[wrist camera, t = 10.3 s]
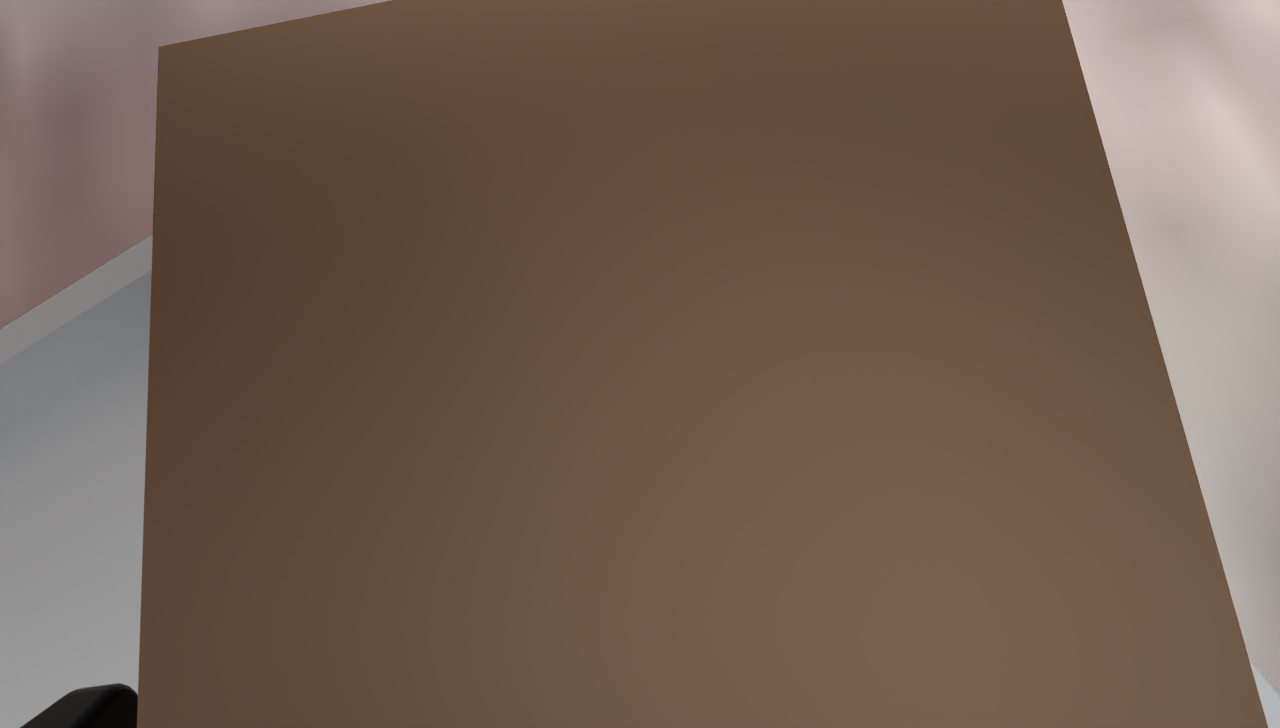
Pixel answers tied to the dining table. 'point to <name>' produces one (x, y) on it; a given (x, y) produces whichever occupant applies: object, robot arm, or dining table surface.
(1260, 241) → the dining table surface
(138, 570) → the plastic tray
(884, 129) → the walnut block
